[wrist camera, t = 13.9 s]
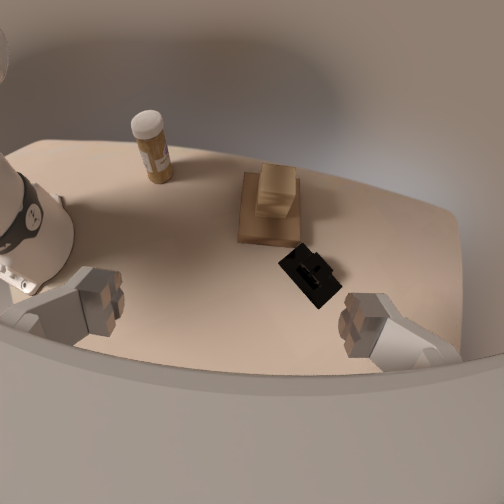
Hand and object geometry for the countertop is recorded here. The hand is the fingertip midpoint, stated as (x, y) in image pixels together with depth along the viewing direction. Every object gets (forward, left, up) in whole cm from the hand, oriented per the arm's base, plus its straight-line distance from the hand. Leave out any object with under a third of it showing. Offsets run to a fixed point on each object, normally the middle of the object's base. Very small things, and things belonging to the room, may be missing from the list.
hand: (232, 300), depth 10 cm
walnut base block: (+5, +20, -31) cm, 38 cm away
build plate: (+12, +11, -32) cm, 36 cm away
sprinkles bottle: (-14, +26, -32) cm, 43 cm away
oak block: (+5, +20, -28) cm, 35 cm away
